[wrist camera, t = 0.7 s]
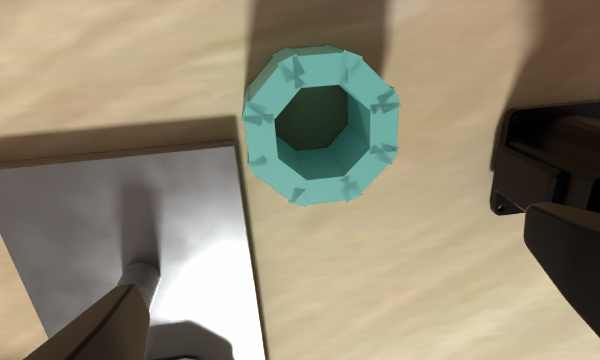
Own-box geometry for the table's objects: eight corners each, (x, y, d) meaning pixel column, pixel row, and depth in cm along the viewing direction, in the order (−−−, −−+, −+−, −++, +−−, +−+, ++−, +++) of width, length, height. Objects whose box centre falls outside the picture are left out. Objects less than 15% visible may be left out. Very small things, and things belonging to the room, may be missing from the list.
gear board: (234, 138, 19) (227, 188, 14) (274, 416, 28) (280, 516, 22) (-11, 163, 18) (-130, 227, 13) (110, 443, 27) (74, 554, 21)
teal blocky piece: (372, 40, 18) (403, 45, 14) (371, 165, 21) (396, 196, 17) (237, 50, 18) (233, 58, 14) (253, 177, 20) (253, 212, 17)
